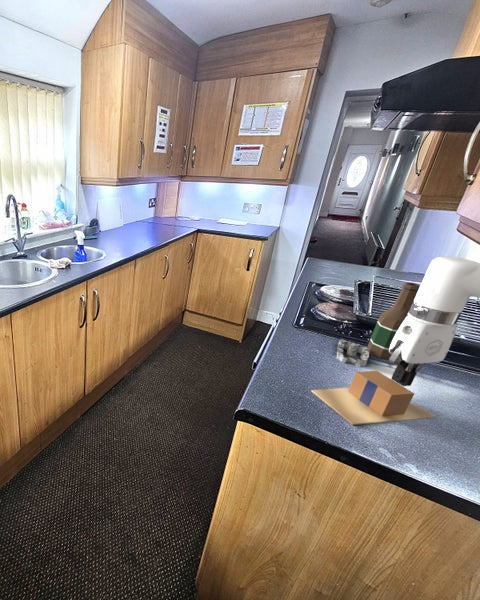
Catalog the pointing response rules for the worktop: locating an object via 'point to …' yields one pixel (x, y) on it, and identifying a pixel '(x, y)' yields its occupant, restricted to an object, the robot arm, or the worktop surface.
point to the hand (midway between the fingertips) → (400, 382)
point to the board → (364, 408)
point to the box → (380, 393)
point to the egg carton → (352, 353)
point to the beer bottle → (391, 322)
